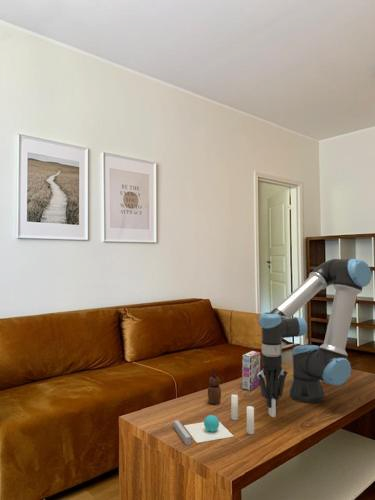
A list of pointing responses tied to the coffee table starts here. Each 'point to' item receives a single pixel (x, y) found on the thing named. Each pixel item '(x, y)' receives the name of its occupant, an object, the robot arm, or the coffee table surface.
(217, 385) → the wooden figurine
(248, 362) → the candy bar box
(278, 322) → the robot arm
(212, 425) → the ball
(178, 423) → the wall
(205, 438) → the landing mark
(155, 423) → the coffee table surface
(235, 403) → the post
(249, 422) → the post
